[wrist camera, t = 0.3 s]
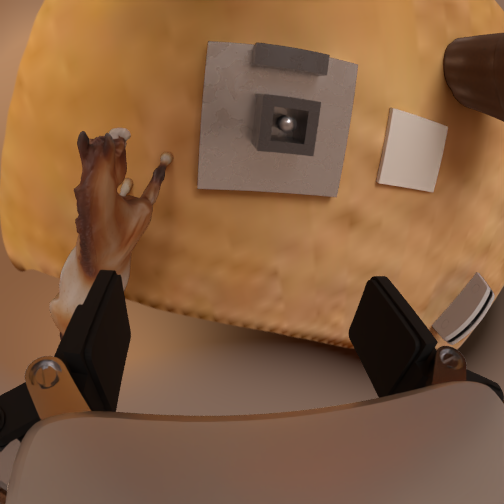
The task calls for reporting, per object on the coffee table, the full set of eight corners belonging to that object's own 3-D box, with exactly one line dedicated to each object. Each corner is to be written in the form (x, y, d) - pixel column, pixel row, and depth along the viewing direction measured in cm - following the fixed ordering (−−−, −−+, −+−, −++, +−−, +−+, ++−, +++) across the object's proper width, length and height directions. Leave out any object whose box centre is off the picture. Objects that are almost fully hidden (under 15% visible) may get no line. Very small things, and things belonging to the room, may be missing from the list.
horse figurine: (150, 104, 31) (81, 122, 14) (204, 135, 34) (196, 185, 17) (67, 287, 42) (20, 388, 24) (108, 308, 45) (76, 415, 27)
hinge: (439, 331, 61) (453, 355, 52) (428, 322, 61) (442, 347, 51) (483, 279, 55) (504, 298, 46) (474, 268, 55) (494, 287, 45)
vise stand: (208, 43, 28) (207, 34, 23) (352, 65, 31) (375, 63, 26) (198, 185, 37) (196, 201, 32) (332, 193, 40) (350, 210, 35)
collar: (256, 93, 31) (263, 93, 27) (306, 100, 32) (321, 102, 28) (251, 142, 34) (257, 151, 30) (300, 147, 35) (313, 156, 31)
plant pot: (435, 118, 36) (515, 144, 22) (425, 17, 27) (506, 10, 14) (495, 121, 36) (563, 148, 22) (489, 37, 28) (560, 44, 14)
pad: (390, 107, 35) (393, 108, 34) (444, 125, 36) (448, 126, 36) (376, 181, 40) (378, 183, 39) (430, 190, 42) (433, 192, 41)
